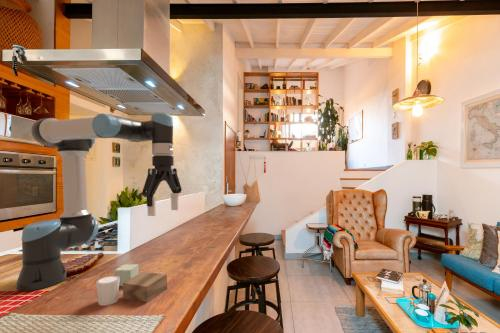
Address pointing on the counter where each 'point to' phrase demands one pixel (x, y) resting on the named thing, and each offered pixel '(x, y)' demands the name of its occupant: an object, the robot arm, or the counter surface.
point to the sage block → (127, 272)
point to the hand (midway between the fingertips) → (163, 212)
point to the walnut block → (144, 286)
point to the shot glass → (108, 290)
